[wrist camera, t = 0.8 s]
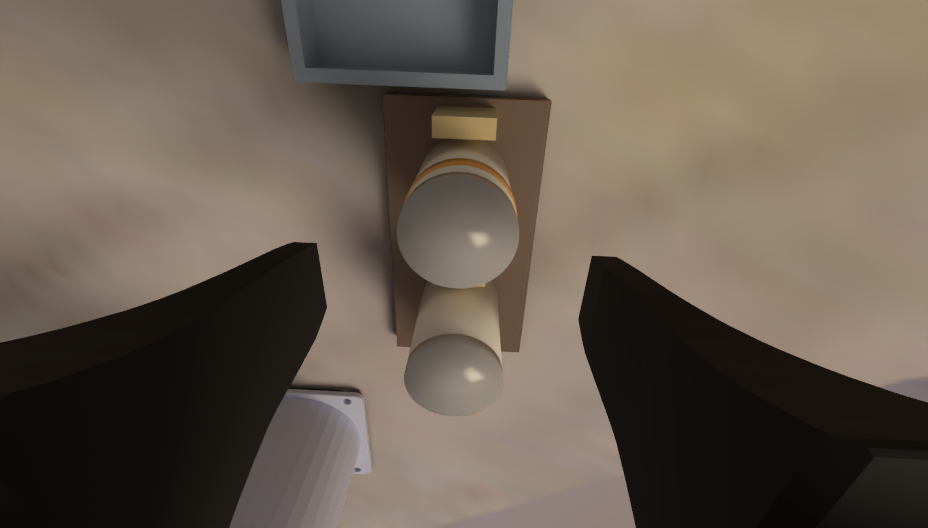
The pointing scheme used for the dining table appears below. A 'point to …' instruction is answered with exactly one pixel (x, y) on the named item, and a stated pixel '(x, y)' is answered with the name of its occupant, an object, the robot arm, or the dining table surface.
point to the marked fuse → (459, 216)
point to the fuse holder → (523, 149)
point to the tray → (400, 42)
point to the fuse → (455, 350)
